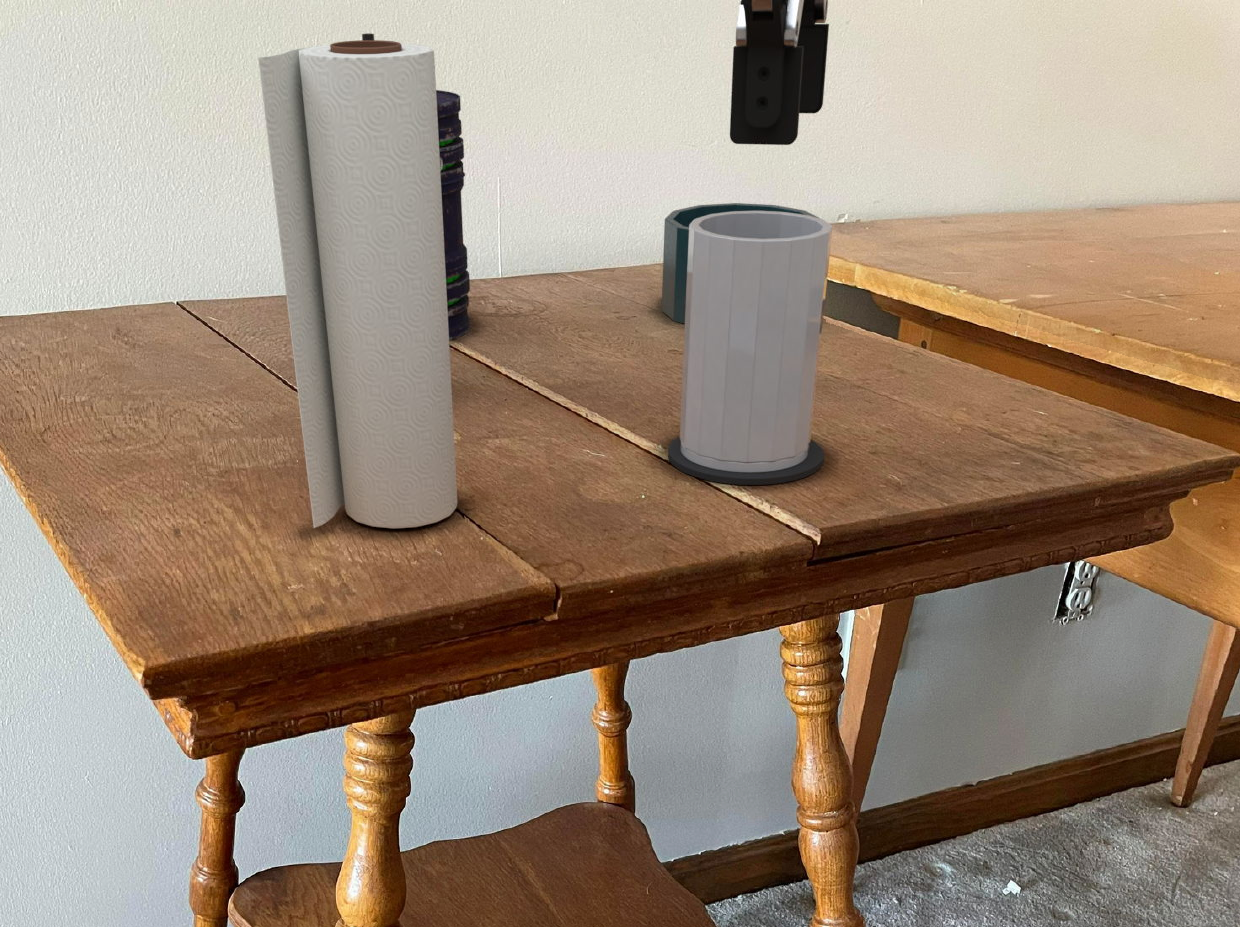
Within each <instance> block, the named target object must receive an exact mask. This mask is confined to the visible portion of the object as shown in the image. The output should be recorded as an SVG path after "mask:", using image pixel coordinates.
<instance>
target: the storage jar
mask: <svg viewBox="0 0 1240 927" xmlns="http://www.w3.org/2000/svg"><path fill="white" fill-rule="evenodd" d="M436 98H437V117H438V137H439V156H440V157H441V159H442V164H443V167H442V170H441V171H440V175H441V195H442V214H443V233H444V253H445V272H446V291H447V310H448V330H449V341H451V340H455V339H457V338H460V337H462V336H464V335H466V334H467V333H468V332H469V331H470V329H471V318H470V316H469V314H468V307H469V306H470V297H469V295H468V294H469V292H470V291H471V287H470V286H471V285H470V283H471V282H470V272H469V271H468V270H467V269H468V268H469V267H468V264H469V263H468V248H467V246H466V245H465V243H464V230H463V209H462V208H463V206H462V190H463V188H464V186H465V178H464V177H466V173H465V171H464V162H463V159H464V158H465V146H464V138H463V137H462V133H463V132H462V130H463V129H462V128H463V127H462V119H460V112H461V110H462V107H461V106H462V105H461V95H460V94H458V93H456V92H452V91H448V90H441V89H436Z"/></svg>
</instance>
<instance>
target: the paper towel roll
mask: <svg viewBox="0 0 1240 927" xmlns="http://www.w3.org/2000/svg"><path fill="white" fill-rule="evenodd" d="M257 59H258V67H259V75H260V76H259V77H260V84H261V85H260V86H261V92H262V101H263V109H264V118H265V127H266V133H267V134H266V135H267V144H268V151H269V161H270V168H271V178H272V186H273V195H274V203H275V211H276V221H277V228H278V237H279V238H278V239H279V246H280V254H281V262H282V271H283V279H284V289H285V296H286V297H285V298H286V304H287V305H286V306H287V315H288V321H289V331H290V339H291V348H292V355H293V356H292V358H293V365H294V373H295V381H296V389H297V390H296V391H297V397H298V399H297V400H298V406H299V415H300V424H301V432H302V440H303V449H304V457H305V458H304V459H305V466H306V474H307V484H308V491H309V492H308V493H309V500H310V510H311V517H312V526H313V527H312V528H313V529H316V528H318V527H321V526H323V525H324V524H326V523H328V522H329V521H330V520H331V519H333V518H334V517H335V516H336V514H337V512H338V511H339V510H340V509H341V507H343V506H344V509H345V512H346V515H347V516H349V518H351V519H352V520H354V521H355V522H357V523H360V524H364V525H366V526H370V527H374V528H375V527H376V528H384V529H385V528H386V529H406V528H418V527H423V526H427V525H431V524H436V523H438V522H440V521H442V520H444V519H446V518H448V517H450V516H451V515H452V514H453V513H454V511H455V510H456V509H457V507H458V487H457V469H456V468H457V467H456V466H457V465H456V449H455V447H456V446H455V430H454V429H455V428H454V410H453V409H454V408H453V390H452V389H453V388H452V372H451V369H452V368H451V353H450V352H451V351H450V350H451V349H450V340H449V330H448V310H447V291H446V272H445V253H444V233H443V214H442V195H441V175H440V156H439V137H438V117H437V98H436V90H437V81H436V61H435V60H436V59H435V50H434V48H433V47H432V46H427V45H421V44H414V43H411V44H410V43H401V42H399V41H394V40H381V39H380V40H377V39H376V40H375V39H374V40H345V41H337V42H333V43H330V44H323V45H317V46H316V45H315V46H308V47H302V48H295V49H291V50H287V51H285V52H282V53H279V54H275V55H273V54H272V55H270V56H269V55H268V56H260V57H258V58H257Z"/></svg>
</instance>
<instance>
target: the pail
mask: <svg viewBox="0 0 1240 927" xmlns="http://www.w3.org/2000/svg"><path fill="white" fill-rule="evenodd" d="M733 211H775V212H788V213H795V214H802V215H809V216H812V217H816V218H819V219H821V217H818V216H817V215H814V214H813V213H811V212H808V211H807V210H804V209H798V208H792V207H788V206H782V205H776V204H764V203H743V202H742V203H741V202H729V203H716V204H715V203H713V204H710V203H709V204H697V205H693V206H687V207H685V208H679V209H676V210H672V211H671V212H670V213H669V214H668V215H667V216H665V218H664V229H663V230H664V231H663V257H662V282H661V284H662V286H661V290H662V291H661V312H662V313H664V314H665V315H666V316H667V317H668V318H669V319H670V320H672V322H676V323H680V324H683V325H685V309H686V288H687V266H688V244H689V225H690V223H691V222H692V221H693V220H694V219H696V218H700V217H703V216H706V215H709V214H716V213H724V212H733Z"/></svg>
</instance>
